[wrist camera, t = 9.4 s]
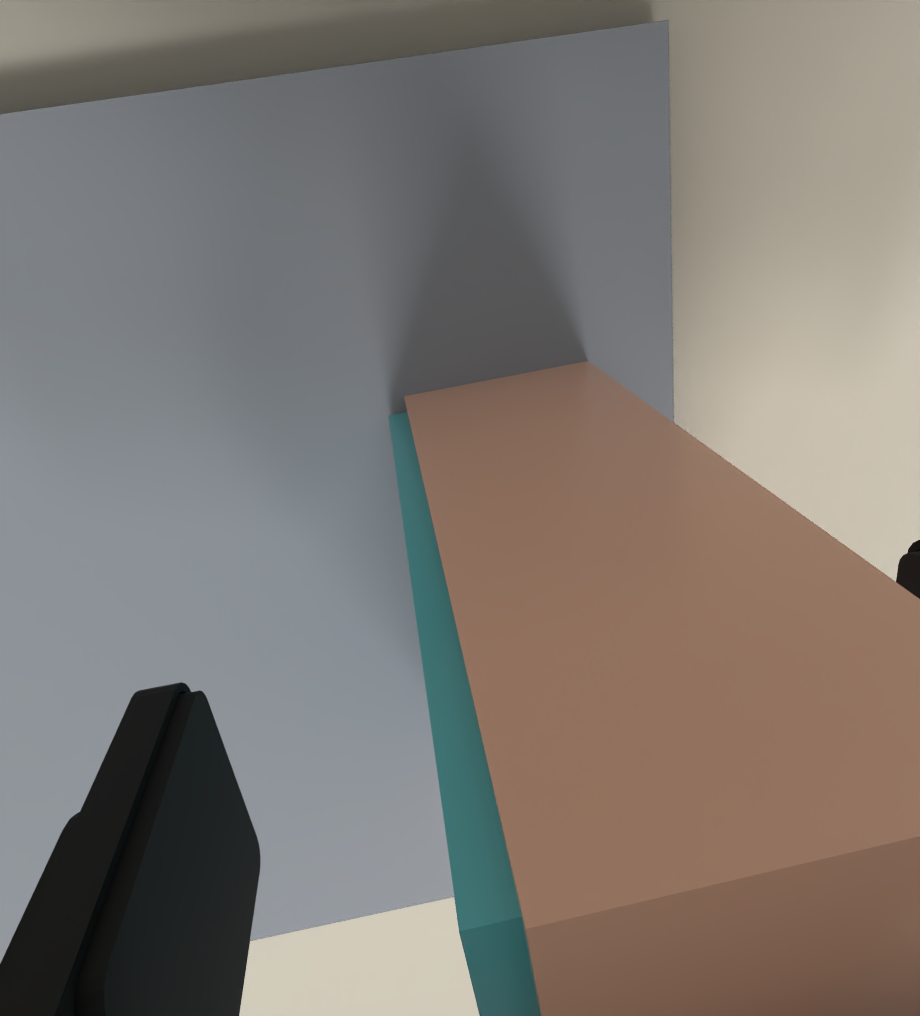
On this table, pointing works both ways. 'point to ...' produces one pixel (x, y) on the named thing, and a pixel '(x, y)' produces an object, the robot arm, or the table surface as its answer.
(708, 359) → the table surface
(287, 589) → the mat
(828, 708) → the salmon orange block
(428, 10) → the table surface
